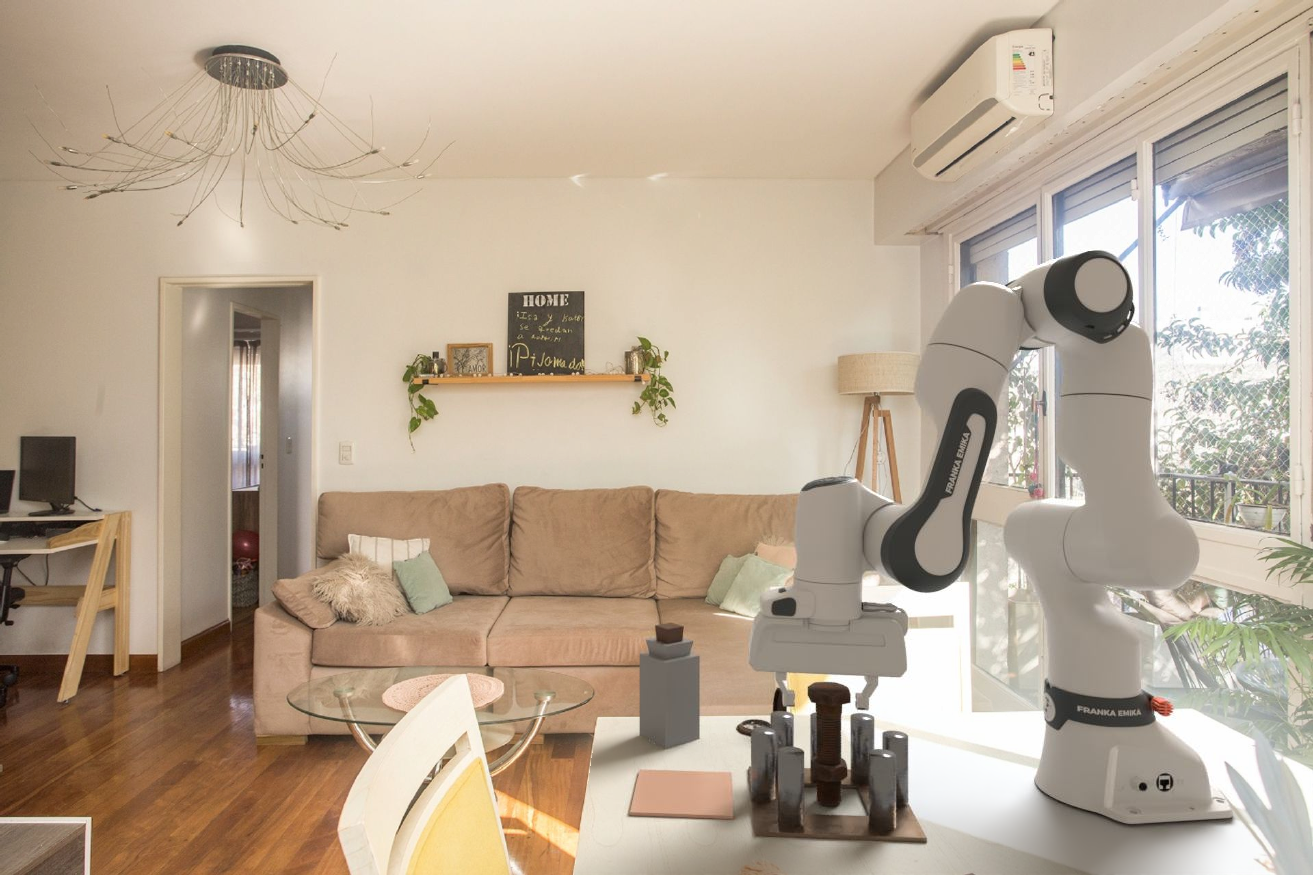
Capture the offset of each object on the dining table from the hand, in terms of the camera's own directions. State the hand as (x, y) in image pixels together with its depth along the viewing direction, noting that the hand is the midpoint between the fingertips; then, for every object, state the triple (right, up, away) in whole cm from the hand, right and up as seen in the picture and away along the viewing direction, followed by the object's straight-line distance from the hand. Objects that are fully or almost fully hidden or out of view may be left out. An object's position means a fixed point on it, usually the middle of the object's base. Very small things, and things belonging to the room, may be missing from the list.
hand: (825, 707), depth 103 cm
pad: (-18, -12, +2) cm, 22 cm away
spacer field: (+1, -12, 0) cm, 12 cm away
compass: (-5, -13, +24) cm, 27 cm away
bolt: (+1, -13, 0) cm, 13 cm away
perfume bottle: (-20, -13, +22) cm, 32 cm away
